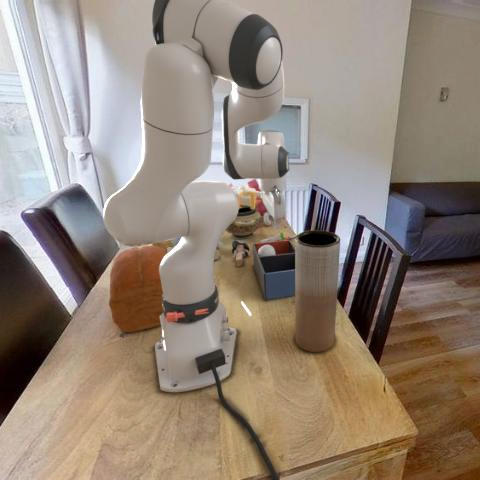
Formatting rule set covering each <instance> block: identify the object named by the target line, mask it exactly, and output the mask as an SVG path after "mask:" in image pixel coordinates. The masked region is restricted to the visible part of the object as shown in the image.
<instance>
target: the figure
mask: <svg viewBox="0 0 480 480" xmlns="http://www.w3.org/2000/svg"><path fill="white" fill-rule="evenodd" d="M233 191H234V192H235V194H236V196H237V198H238V203H239V209H240V208H242V207H241V206H240V204H241V205H244V206H251V209H255V203H256V202H257V201H259V200H257V199H256V198H257V197H258V198H259V197H260V199H261V198H262V193H261V192H259V191H256V189H254V188H249V186H248V184H246V183H242V184H240V185H238V188H237V189H235V190H233ZM259 202H261V201H259ZM256 204H257V203H256Z"/></svg>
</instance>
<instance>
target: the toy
mask: <svg viewBox="0 0 480 480" xmlns="http://www.w3.org/2000/svg"><path fill="white" fill-rule="evenodd" d="M247 186H249V188H254V189H256V191H259V192H261V190H260V189H259V182H258V181H257V179H250V180H249V181H247ZM256 199H257V200H259V201H261V202H259V201H257V202H256V203H257V204H256V203H255V205H257V206H255V207H256V211H257V212H258V213H259V214H260V215H261V218H263V222H264V224H265V225H266V226H269V227H270V226H271V224H272V220H271V221H270V220H269V219H268V213H267V208H266V207H265V205H264V204H263V200H262V198H261V199H260V197H259V198H258V197H257V198H256Z"/></svg>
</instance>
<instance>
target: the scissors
mask: <svg viewBox="0 0 480 480" xmlns="http://www.w3.org/2000/svg"><path fill="white" fill-rule="evenodd" d="M298 234H299V233H297V234H294V235H290V236H286V237H284V240H291V239H294V238H296V236H297V235H298Z"/></svg>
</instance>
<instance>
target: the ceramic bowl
mask: <svg viewBox="0 0 480 480" xmlns="http://www.w3.org/2000/svg"><path fill="white" fill-rule="evenodd" d="M262 220H263V217H261V215H260V214H259V213H258V212H257V211H256V207H255V209H251V207H247V208H240V209H239V210H238V214H237V217H236V219H235V220H234V222H233V223H232V224H230V226H229V227H228V228H227V229H226V230H225V232H227V233H229V234H231V237H232V238H235V239H242V240H244V239H249V238H251V237H252V236H254V233H255V232H256V231H258V229H259V228H260V226H261V225H262Z"/></svg>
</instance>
